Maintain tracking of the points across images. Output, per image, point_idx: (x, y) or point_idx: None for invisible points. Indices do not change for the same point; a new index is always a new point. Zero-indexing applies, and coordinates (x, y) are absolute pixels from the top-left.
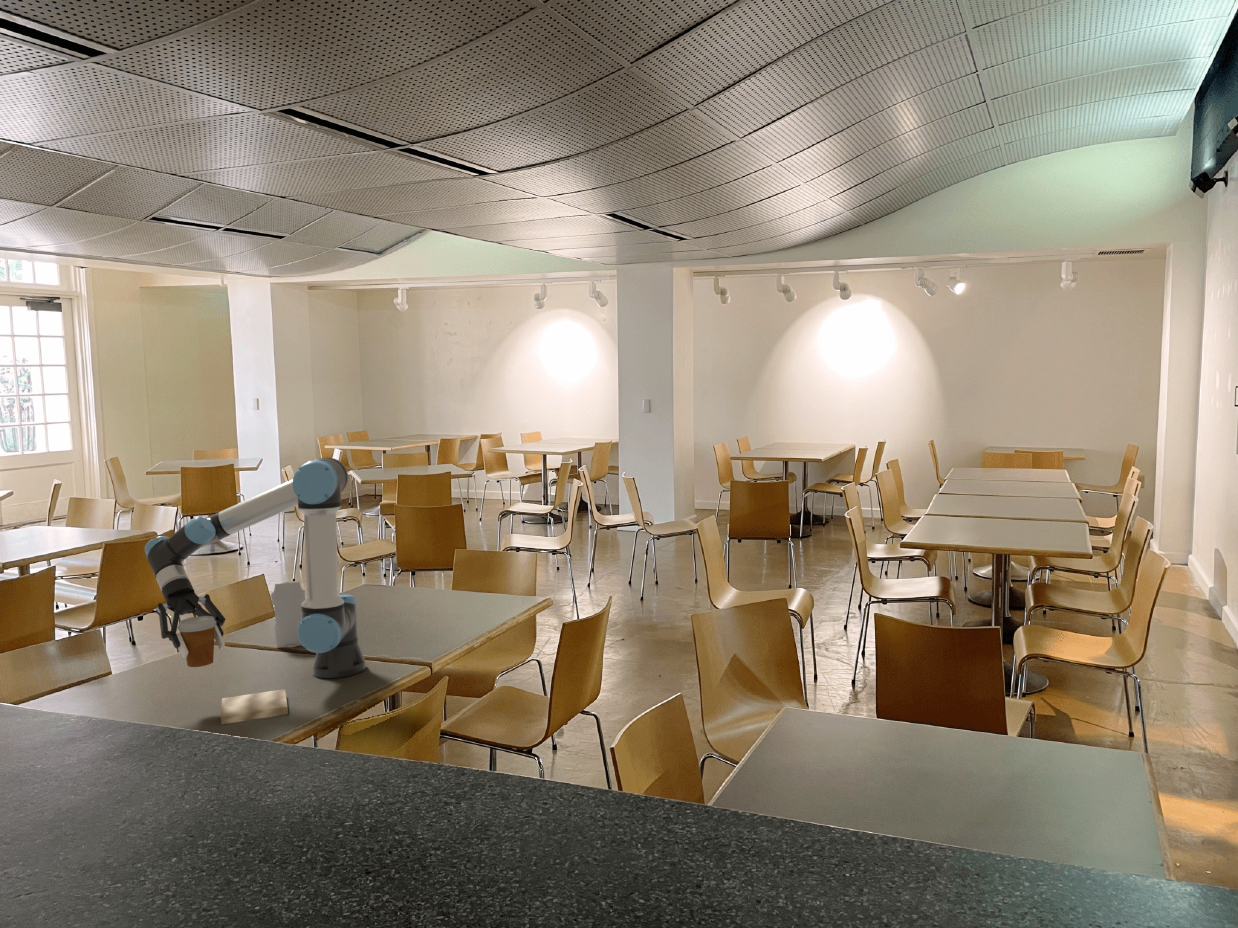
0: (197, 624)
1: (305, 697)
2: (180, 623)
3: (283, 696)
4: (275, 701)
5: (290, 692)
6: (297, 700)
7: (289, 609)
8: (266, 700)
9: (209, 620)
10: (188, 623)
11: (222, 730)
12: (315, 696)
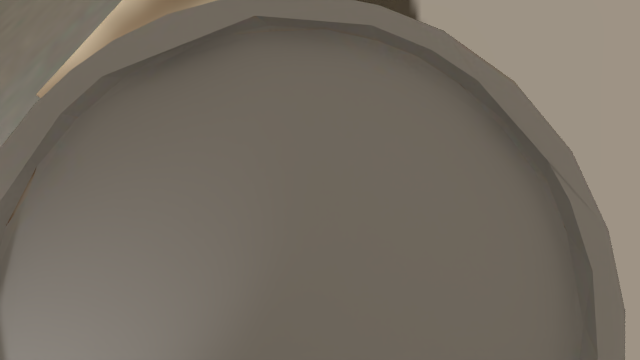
0: (432, 38)
1: (37, 25)
2: (622, 337)
3: (112, 24)
4: (169, 4)
5: (9, 126)
6: (75, 25)
7: None
8: None
9: (217, 3)
10: (471, 281)
11: (402, 6)
12: (14, 2)
